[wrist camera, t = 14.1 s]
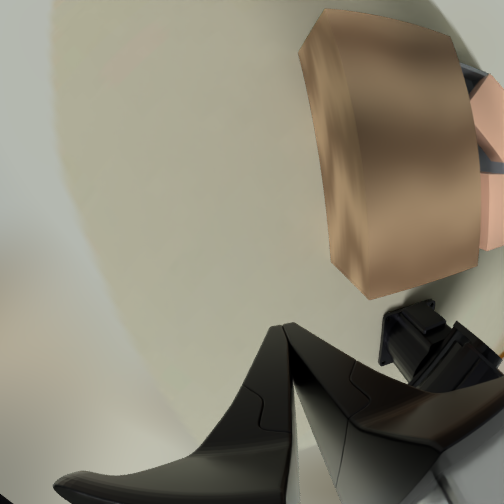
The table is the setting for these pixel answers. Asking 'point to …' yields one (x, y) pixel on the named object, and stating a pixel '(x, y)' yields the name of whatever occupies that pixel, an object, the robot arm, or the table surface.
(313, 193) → the table surface
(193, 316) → the table surface
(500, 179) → the tile
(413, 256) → the brown wooden block
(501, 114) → the tile
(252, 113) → the table surface
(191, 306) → the table surface
